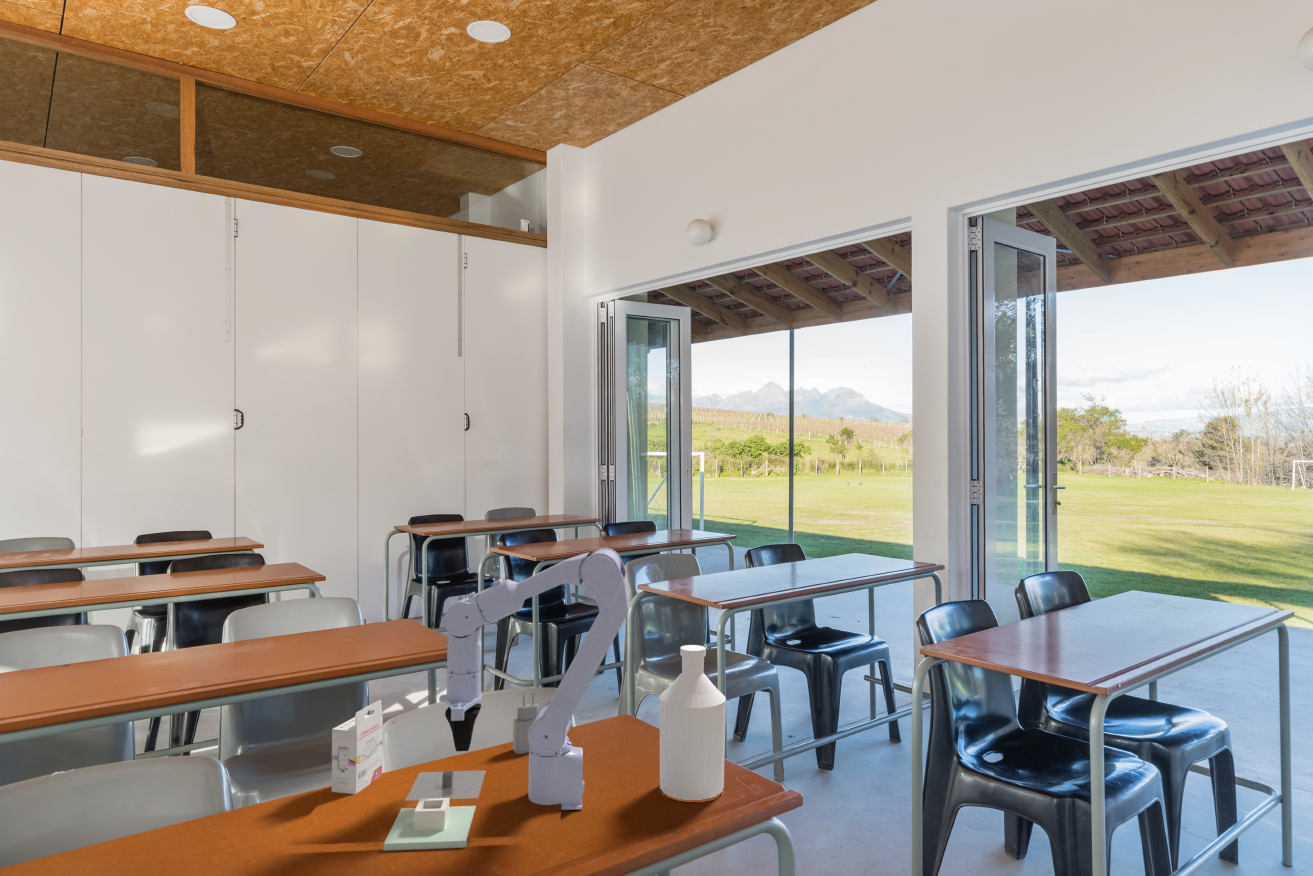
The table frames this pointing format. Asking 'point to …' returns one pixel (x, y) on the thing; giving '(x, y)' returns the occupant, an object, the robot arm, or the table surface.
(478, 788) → the grey stand plate
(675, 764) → the bottle
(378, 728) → the ink cartridge box
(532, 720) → the power adapter
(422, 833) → the sage hub plate
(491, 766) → the table surface
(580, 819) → the table surface
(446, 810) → the cream ring
